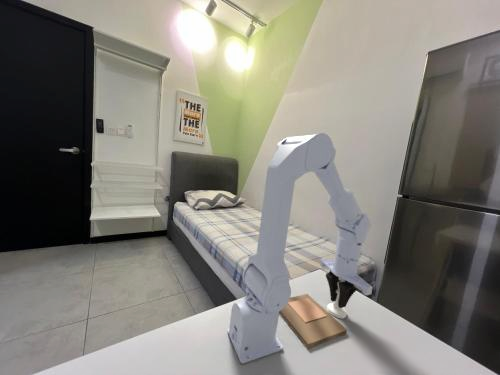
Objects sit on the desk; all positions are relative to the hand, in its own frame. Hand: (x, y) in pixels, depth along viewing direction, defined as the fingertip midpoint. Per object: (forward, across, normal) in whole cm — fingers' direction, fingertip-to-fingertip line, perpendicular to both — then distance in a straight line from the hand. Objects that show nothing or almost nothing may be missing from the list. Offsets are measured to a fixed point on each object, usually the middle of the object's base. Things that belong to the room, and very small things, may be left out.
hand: (338, 303), depth 54 cm
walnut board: (+2, 0, +10) cm, 10 cm away
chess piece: (+3, 0, 0) cm, 3 cm away
